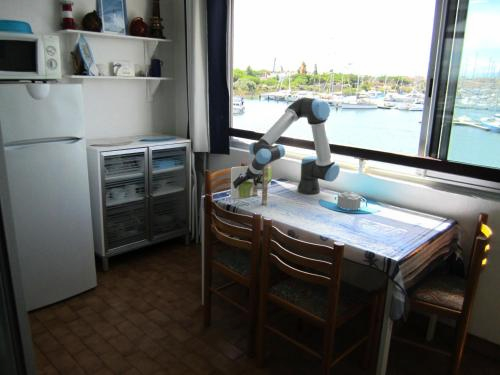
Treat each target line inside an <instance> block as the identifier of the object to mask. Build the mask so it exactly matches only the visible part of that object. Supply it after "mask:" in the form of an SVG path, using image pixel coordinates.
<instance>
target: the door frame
mask: <svg viewBox="0 0 500 375" xmlns="http://www.w3.org/2000/svg"><path fill="white" fill-rule="evenodd" d="M268 166H269V164H267V165H266V166H265V167H264V169H263V183H262V190H261V205H262V206H267V205H268V189H269V188H268ZM255 179H256V180H257V178H255ZM253 182H254V181H253ZM267 188H268V189H267ZM258 189H259V188H258V183H257V185H256V186H253V197H258V191H259V190H258Z"/></svg>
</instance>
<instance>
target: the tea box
mask: <svg viewBox="0 0 500 375" xmlns="http://www.w3.org/2000/svg"><path fill="white" fill-rule="evenodd" d="M272 167H273V166H272V165H268V188H267V190H268V189H269V188H270V187H271V186H272V185H271V183H272ZM262 175H263V170H262ZM262 183H263V176H262V177H261V180H260V183H259V184H258V189H262Z"/></svg>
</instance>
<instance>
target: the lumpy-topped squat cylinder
mask: <svg viewBox="0 0 500 375" xmlns="http://www.w3.org/2000/svg"><path fill="white" fill-rule="evenodd" d="M361 200H362V196H360V195H359V194H356V193H355V192H354V191H350V192H348V191H344V192H340V193H338V195H337V204H336V206H337V205H338V206H340V207H342V208H345V209H350V210H356V209H358V208H360V209H361V202H362V201H361ZM338 206H337V207H338ZM358 210H359V209H358ZM356 211H357V210H356Z"/></svg>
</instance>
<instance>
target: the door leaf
mask: <svg viewBox="0 0 500 375" xmlns="http://www.w3.org/2000/svg"><path fill="white" fill-rule="evenodd" d="M248 167H249V165H244V166H243V165H242V166H233V167H231V168H230V198H231V199H235V198H237V199H238V198H240V197H239V190H238V189H237V191H236V192H234V189H233V188H234V184H233V182H234V181H235V180H236V179H237V178H238V177H239V175H240V174H242V175H244V174H245V173H246V172H247V169H248ZM247 181H250V182H252V181H253V179H249V180H247ZM251 196H253V188H252V189H251V190H250V196H249V197H251ZM253 197H254V196H253Z"/></svg>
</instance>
